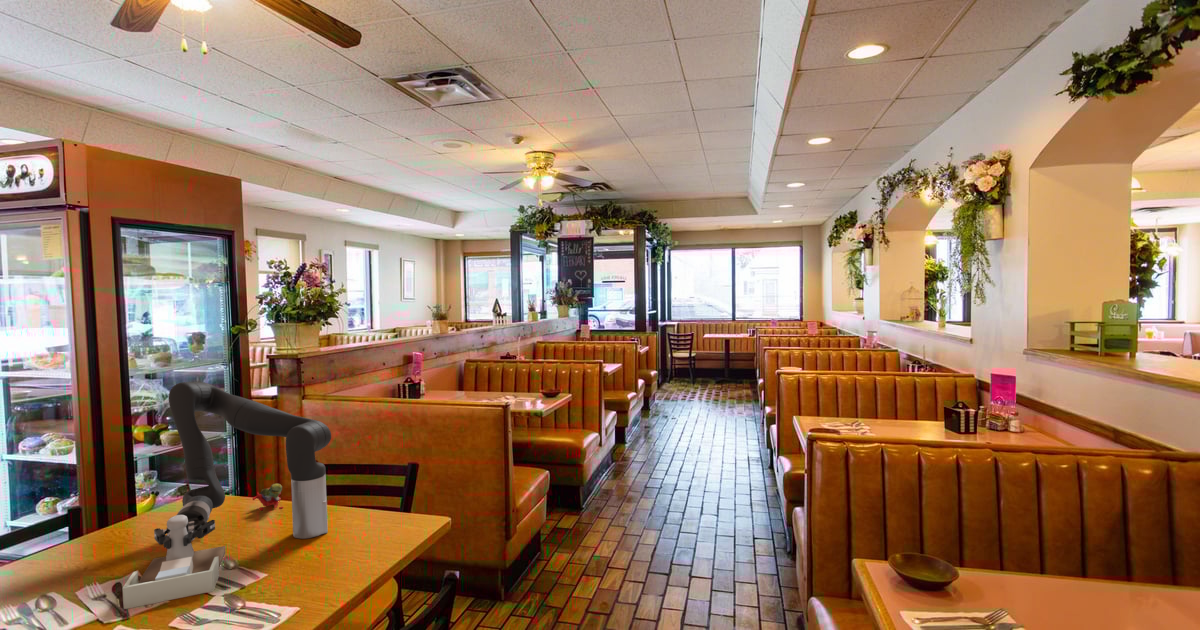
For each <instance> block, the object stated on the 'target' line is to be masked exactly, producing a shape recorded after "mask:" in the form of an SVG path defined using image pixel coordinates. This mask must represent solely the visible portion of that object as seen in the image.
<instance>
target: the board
mask: <svg viewBox="0 0 1200 630" xmlns="http://www.w3.org/2000/svg"><path fill="white" fill-rule="evenodd" d="M225 555H226V545H223V546H217V547H211V548H206V549H201V550H194V556H193V558H192V561H193V571H192V573H197V572H203V571H208V570H209V569H210V567H211V565H212V562H213V560H214V558H215V557H219V569H220V568H221V566H222V563H223V561H222V559H223V560H224V558H225ZM223 557H224V558H223ZM165 561H166V555H165V556H161V557H155V558H152V560H151V561H150V564H149V565H148V566H147V568H146V570H145V571H144V572H143V574H142V575H141V577H140V579H138V583H145V582H150V581H155V578H156V576H157V575H158V573H159V572H160V568H161V565H162V562H165ZM221 562H222V563H221ZM220 565H221V566H220Z"/></svg>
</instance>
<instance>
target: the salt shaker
mask: <svg viewBox="0 0 1200 630" xmlns="http://www.w3.org/2000/svg"><path fill="white" fill-rule="evenodd" d="M187 524H188V518H187V516H185V515H177V514H176V515H174V516H172V517H170V518H169V519H168V520H167V521H166V529H167V528H168V529H169V530H170V536H169V538H171V548H170V549H166V550H167V551H166V555H165V556H166V561H171V560H176V559H182V558H187V557H192V558H193V556H194V551H195V550H194V547H193V545H192V542H191V543H190V544H188V545H187V546H184V544H183V538H184V536H185V535H187V534H188V532H187V529H186V525H187Z"/></svg>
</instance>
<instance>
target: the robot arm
mask: <svg viewBox="0 0 1200 630" xmlns="http://www.w3.org/2000/svg"><path fill="white" fill-rule="evenodd" d="M168 404H169V408H170V411H171V414H172V417H173V420H174V425H175V427H176V430H177V433H178V435H179V440H180V441H181V442H180V443H181V445H182V451H183V456H184V458H183V459H184V465H185V475H186V478H187V480H188V481H192V482H194V481H204V482H206V483H207V485H206V486H205V485H204V486H201V487H198V488H197V487H196V488H192V489H190V490H188V491H186V492H184V494H183V496H182V501H181V502H182V507H181V509H179V510H178V512H177V514H176V515H185V516H187V518H188V524H187V525H186V529H187V532H188V534H187V535H185V536H184V538H183V544H184V546H187V545H188V544H190V543H191V544H192V542H193V541H194V540H195V539H196V538H197V539H201V538H202V539H203V538H204V537H206V536H207V535H209V534H210V533H212V532H213V531H214V530H216V520H215V519H211V520H209V519H210V515H211V513H212V511H213V509H217V508H220V507H221V506H222V505H223V504H224V502H225V499H226V492H225V490H224V488H223V486H222V485H221V482H220V481H219V478H218V476H217V474H216V469H215V465H214V456H213V450H212V447H211V445H210V443H209V441H208V440H207V438H206V437H205V436H204V434H203V432H202V431H201V429H200V427H199V425H198V423H197V420H196V414H195V412H207V413H211V414H214V415H217V416H220V417H222V418H223V419H224V420H225V421H226V422H227V423H228V424H229V426H231V427H233V428H234V429H236V430H239V431H242V432H245V433H248V434H251V435H256V436H267V437H283V438H285V452H286V462H287V463H286V464H287V465H286V466H287V469H288V471H289V473H290V480H291V482H290V483H291V510H292V511H291V512H292V514H291V515H292V516H291V517H292V535H293V537H294V538H295V539H299V540H300V539H303V540H304V539H311V538H315V537H318V536H322V535H323V534H328V532H329V531H328V530H329V529H328V500H327V480H326V479H327V476H326V475H327V473H326V471H327V470H326V466H325V464H324V463H322V462H319V461H318V462H317V460H316V452H318V451H321V450H322V449H325V447H327V446H328V444H330V442H331V439H332V432H331V430H330V428H329V427H328V425H327V424H325V423H324V422H322V421H320V420H316V419H312V418H307V417H303V416H298V415H295V414H291V413H289V412H286V411H284V410H281V409H277V408H274V407H271V406H269V405H266V404H264V403H261V402H258V401H255V400H253V399H249V398H245V397H242V396H239V395H235V394H231V393H228V392H227V391H224V390H222V389H221V388H218V387H217V386H215V385H212V384H210V383H208V382H205V381H189V382H188V381H186V382H185V381H184V382H178V383H176V384H175V385H173V386H172V387H171V389H170V391H169V393H168ZM153 533H154V535H153V536H154V540H155V541H156V543H157V544H159V546H162V545H163V548H165V550H167V549H170V548H171V538H169V536H170V530H169V529H168V528H167V527H166V529H163V528H160V527H159V528H155V529H154V530H153Z"/></svg>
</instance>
